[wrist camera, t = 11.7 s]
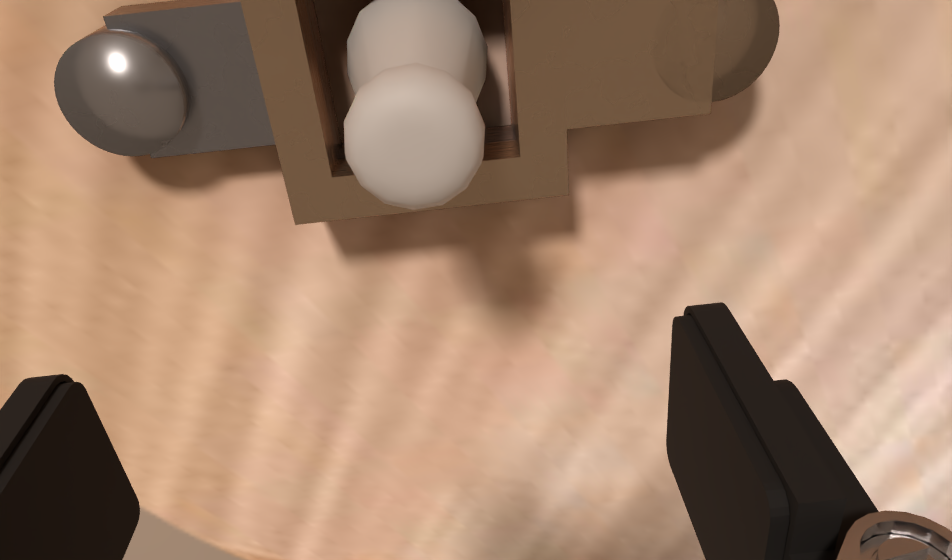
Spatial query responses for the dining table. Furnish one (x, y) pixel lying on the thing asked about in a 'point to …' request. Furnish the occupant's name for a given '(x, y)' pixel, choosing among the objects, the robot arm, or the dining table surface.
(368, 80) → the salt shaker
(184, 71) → the lower end link
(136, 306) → the dining table surface
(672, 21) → the upper end link
